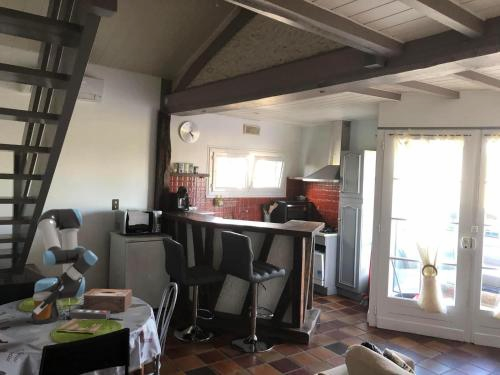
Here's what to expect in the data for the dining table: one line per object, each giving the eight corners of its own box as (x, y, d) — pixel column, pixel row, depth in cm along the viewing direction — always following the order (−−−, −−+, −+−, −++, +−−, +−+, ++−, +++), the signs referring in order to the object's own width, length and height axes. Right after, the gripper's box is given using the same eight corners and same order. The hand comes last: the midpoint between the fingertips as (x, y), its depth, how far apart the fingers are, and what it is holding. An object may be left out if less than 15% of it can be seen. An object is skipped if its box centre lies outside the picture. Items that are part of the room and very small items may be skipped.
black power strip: (69, 318, 234) (69, 311, 234) (74, 315, 240) (75, 308, 240) (121, 321, 232) (121, 314, 232) (125, 318, 238) (125, 310, 238)
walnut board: (58, 331, 215) (58, 328, 215) (73, 321, 231) (73, 318, 231) (94, 333, 214) (94, 331, 214) (107, 323, 230) (107, 320, 230)
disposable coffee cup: (27, 318, 201) (28, 295, 201) (43, 312, 210) (44, 290, 210) (42, 322, 198) (42, 298, 198) (57, 315, 207) (57, 292, 206)
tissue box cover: (83, 311, 249) (83, 295, 249) (92, 303, 264) (92, 288, 263) (124, 312, 249) (125, 296, 249) (131, 304, 264) (131, 289, 263)
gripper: (77, 286, 200) (40, 321, 194) (75, 275, 220) (42, 307, 214) (65, 276, 198) (28, 312, 192) (65, 266, 218) (31, 298, 211)
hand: (36, 309), depth 203 cm, fingers closed on disposable coffee cup, 9 cm apart
